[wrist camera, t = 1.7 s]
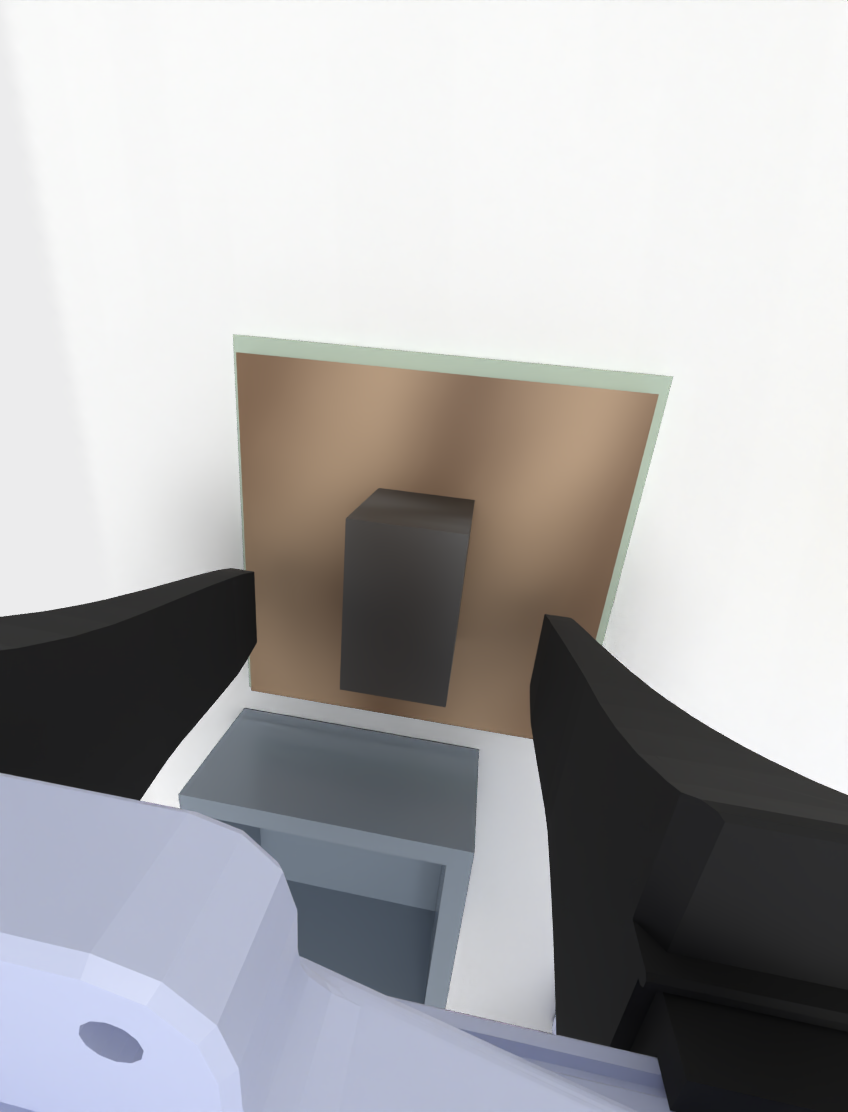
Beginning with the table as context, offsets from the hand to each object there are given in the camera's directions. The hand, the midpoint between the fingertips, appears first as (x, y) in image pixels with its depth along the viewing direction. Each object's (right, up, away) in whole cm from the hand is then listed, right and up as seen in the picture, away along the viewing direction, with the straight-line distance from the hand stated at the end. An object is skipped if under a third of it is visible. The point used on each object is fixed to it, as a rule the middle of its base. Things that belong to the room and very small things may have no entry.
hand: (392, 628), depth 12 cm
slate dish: (-2, -10, +10) cm, 14 cm away
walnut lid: (+1, +2, +5) cm, 5 cm away
